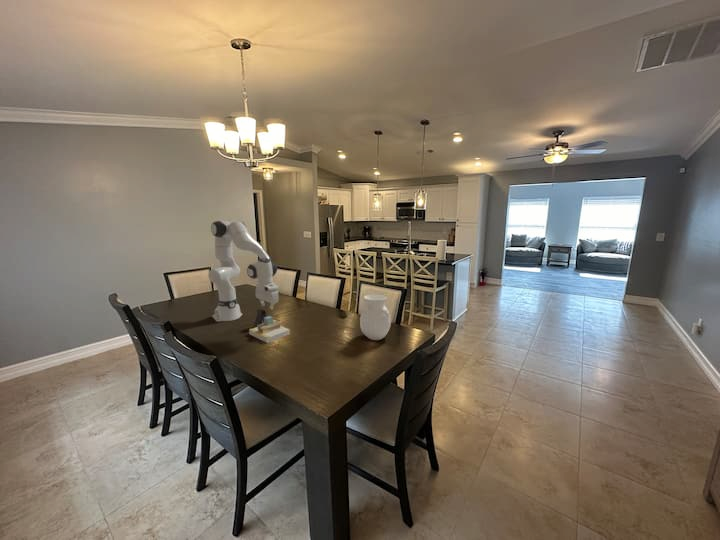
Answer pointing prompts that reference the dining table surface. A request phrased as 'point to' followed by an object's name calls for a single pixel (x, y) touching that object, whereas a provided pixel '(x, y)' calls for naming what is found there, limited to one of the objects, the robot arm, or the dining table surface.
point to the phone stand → (260, 317)
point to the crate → (268, 320)
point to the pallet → (268, 327)
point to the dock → (269, 334)
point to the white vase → (375, 317)
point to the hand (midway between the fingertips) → (267, 307)
